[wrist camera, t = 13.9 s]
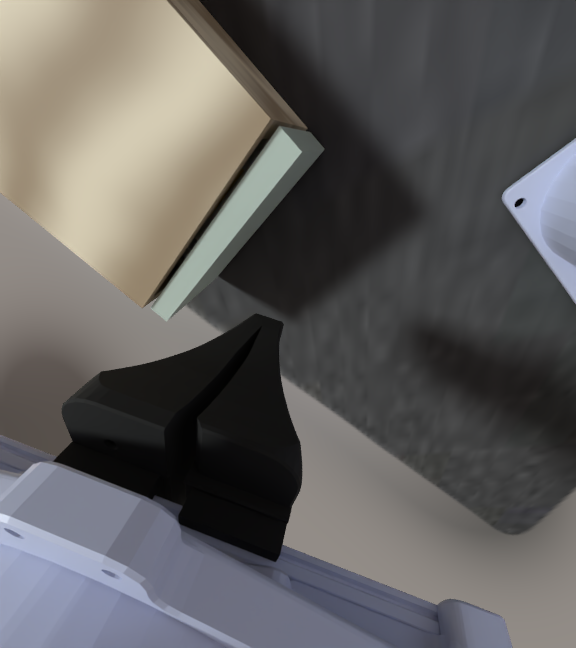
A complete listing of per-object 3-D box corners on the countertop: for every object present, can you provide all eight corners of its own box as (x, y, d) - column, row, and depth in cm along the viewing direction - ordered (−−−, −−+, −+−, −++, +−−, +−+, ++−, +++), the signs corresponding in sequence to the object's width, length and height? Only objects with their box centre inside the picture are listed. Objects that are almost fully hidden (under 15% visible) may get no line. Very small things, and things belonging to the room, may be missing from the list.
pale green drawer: (324, 149, 16) (302, 151, 11) (216, 278, 22) (166, 321, 17) (116, -96, 13) (-71, -273, 7) (58, 135, 19) (-65, 132, 14)
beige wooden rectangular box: (307, 128, 16) (270, 118, 10) (203, 263, 22) (142, 308, 16) (95, -121, 13) (-149, -359, 7) (44, 119, 19) (-104, 107, 13)
